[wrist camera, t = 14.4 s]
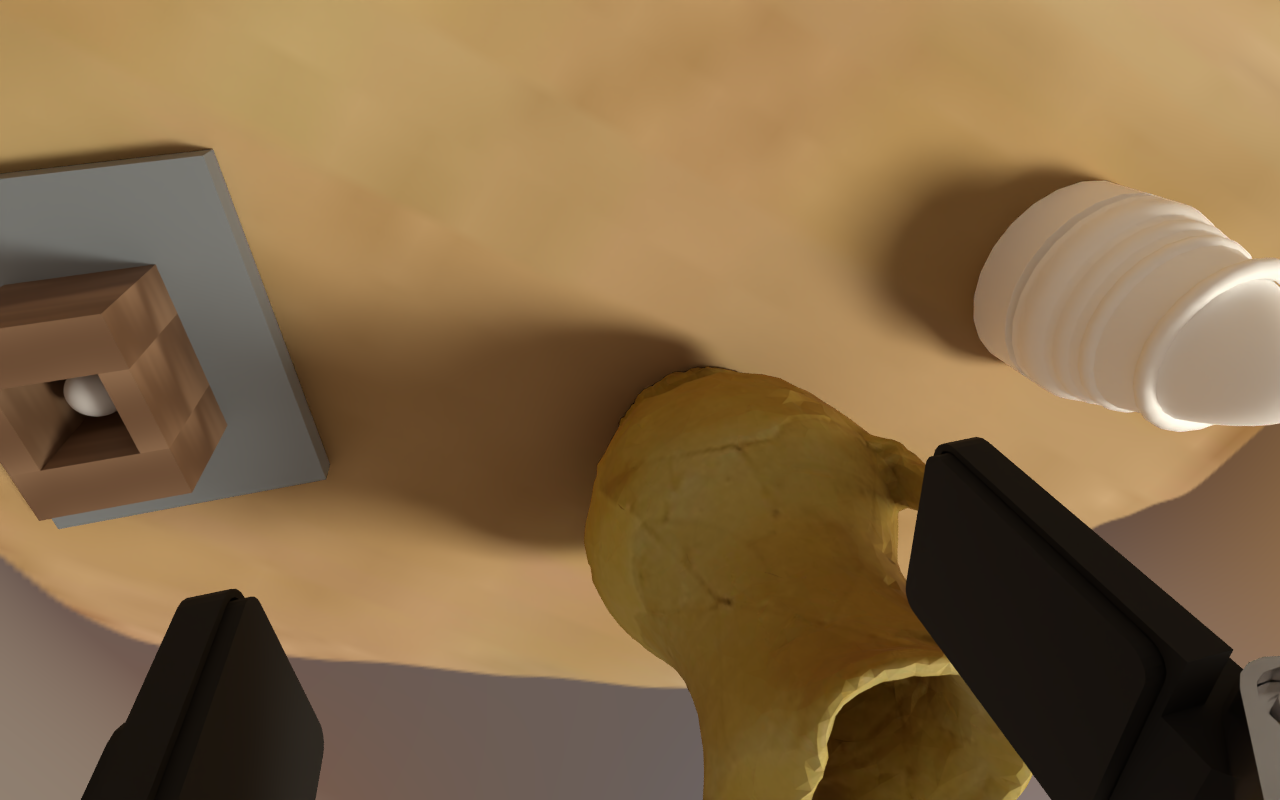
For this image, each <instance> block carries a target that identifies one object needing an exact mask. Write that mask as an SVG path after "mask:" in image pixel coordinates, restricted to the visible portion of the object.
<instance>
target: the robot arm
mask: <svg viewBox="0 0 1280 800" xmlns="http://www.w3.org/2000/svg"><path fill="white" fill-rule="evenodd" d="M906 596H907V600H908V603H909V605H910V607H911V609H912V611H913V612H914V614H915V615H916V616H917V618H918V619H919V620H920V622H921V623H922V625H923V626H924V627H925V629H926V630H927V631H928V633H929V634H930V635H931V637H932V638H933V639H934V641H935V642H936V644H937V645H938V646H939V648H940V649H941V650H942V652H943V653H944V654H945V656H946V657H947V658H948V660H949V661H950V663H951V664H952V665H953V667H954V668H955V669H956V671H957V672H958V673H959V675H960V676H961V678H962V679H963V680H964V682H965V683H966V684H967V686H968V687H969V688H970V690H971V691H972V692H973V694H974V695H975V697H976V698H977V699H978V701H979V702H980V703H981V705H982V706H983V707H984V709H985V710H986V711H987V713H988V714H989V716H990V717H991V718H992V720H993V721H994V722H995V724H996V725H997V726H998V728H999V729H1000V730H1001V732H1002V733H1003V735H1004V736H1005V737H1006V739H1007V740H1008V741H1009V743H1010V744H1011V745H1012V747H1013V748H1014V749H1015V751H1016V752H1017V754H1018V755H1019V756H1020V758H1021V759H1022V760H1023V762H1024V763H1025V764H1026V766H1027V767H1028V769H1029V770H1030V771H1031V773H1032V774H1033V775H1034V777H1035V778H1036V779H1037V781H1038V782H1039V783H1040V785H1041V786H1042V788H1043V789H1044V790H1045V792H1046V793H1047V794H1048V796H1049V797H1050V798H1051V800H1280V656H1272V657H1262V658H1259V659H1257V660H1254V661H1252V662H1249V663H1248V664H1247V665H1246V667H1245V668H1244V669H1242V668H1241V667H1240V666H1239V665H1237V664H1236V663H1235V662H1234V661H1233V660H1232V659H1230V658H1229V657H1230V655H1231V653H1232V651H1233V649H1232V648H1231V647H1230V646H1228V645H1227V644H1226V643H1225V642H1224V641H1222V640H1221V639H1220V638H1219V637H1218V636H1216V635H1215V634H1214V633H1213V632H1212V631H1211V630H1210V629H1208V628H1207V627H1206V626H1204V624H1202V623H1201V622H1200V621H1199V620H1198V619H1197V618H1195V617H1194V616H1193V615H1192V614H1191V613H1189V612H1188V611H1187V610H1186V609H1185V608H1184V607H1182V606H1181V605H1180V604H1179V603H1178V602H1176V601H1175V600H1174V599H1173V598H1172V597H1171V596H1169V595H1168V594H1167V593H1166V592H1165V591H1163V590H1162V589H1161V588H1160V587H1159V586H1158V585H1156V584H1155V583H1154V582H1153V581H1151V580H1150V579H1149V578H1148V577H1147V576H1146V575H1144V574H1143V573H1142V572H1141V571H1140V570H1139V569H1137V568H1136V567H1135V566H1134V565H1133V564H1132V563H1130V562H1129V561H1128V560H1127V559H1126V558H1125V557H1123V556H1122V555H1121V554H1120V553H1118V552H1117V551H1116V550H1115V549H1114V548H1113V547H1111V546H1110V545H1109V544H1108V543H1107V542H1106V541H1104V540H1103V539H1102V538H1101V537H1099V535H1097V534H1096V533H1095V532H1094V531H1093V530H1092V529H1090V528H1089V527H1088V526H1087V525H1086V524H1084V523H1083V522H1082V521H1081V520H1080V519H1079V518H1077V517H1076V516H1075V515H1074V514H1073V513H1071V512H1070V511H1069V510H1068V509H1067V508H1066V507H1064V506H1063V505H1062V504H1061V503H1060V502H1058V501H1057V500H1056V499H1055V498H1054V497H1053V496H1051V495H1050V494H1049V493H1048V492H1047V491H1045V490H1044V489H1043V488H1042V487H1041V486H1040V485H1038V484H1037V483H1036V482H1035V481H1034V480H1033V479H1031V478H1030V477H1029V476H1028V475H1027V474H1025V473H1024V472H1023V471H1022V470H1021V469H1020V468H1018V467H1017V466H1016V465H1015V464H1014V463H1012V462H1011V461H1010V460H1009V459H1008V458H1007V457H1005V456H1004V455H1003V454H1002V453H1001V452H999V451H998V450H997V449H996V448H995V447H994V446H992V445H991V444H990V443H989V442H988V441H986V440H984V439H983V438H979V437H974V438H969V439H964V440H959V441H954V442H949V443H945V444H941V445H939V446H938V447H937V449H936V450H935V453H934V456H931V457H929V458H928V460H927V462H926V465H925V471H924V477H923V483H922V489H921V495H920V501H919V507H918V514H917V520H916V526H915V532H914V538H913V544H912V550H911V556H910V562H909V568H908V575H907V581H906ZM323 750H324V740H323V733H322V728H321V725H320V723H319V721H318V719H317V717H316V715H315V713H314V711H313V709H312V706H311V705H310V702H309V701H308V698H307V696H306V694H305V692H304V690H303V688H302V686H301V684H300V682H299V680H298V678H297V676H296V674H295V672H294V671H293V668H292V666H291V664H290V662H289V660H288V658H287V656H286V654H285V652H284V650H283V648H282V646H281V644H280V642H279V640H278V638H277V636H276V634H275V632H274V630H273V628H272V626H271V624H270V622H269V620H268V618H267V616H266V614H265V612H264V610H263V608H262V606H261V604H260V602H259V601H258V599H257V598H255V597H248V598H244V596H243V595H242V593H241V592H240V591H238V590H237V589H229V590H224V591H219V592H214V593H210V594H205V595H200V596H195V597H190V598H186V599H185V600H183V601H182V602H181V603H180V605H179V606H178V608H177V610H176V612H175V614H174V617H173V619H172V621H171V623H170V625H169V628H168V630H167V632H166V634H165V636H164V639H163V641H162V643H161V645H160V647H159V650H158V652H157V654H156V656H155V659H154V661H153V663H152V665H151V667H150V670H149V672H148V674H147V676H146V678H145V681H144V683H143V685H142V687H141V690H140V692H139V694H138V696H137V698H136V701H135V703H134V705H133V708H132V709H131V712H130V714H129V716H128V718H127V720H126V722H125V723H123V724H122V725H121V726H120V727H119V728H118V729H117V730H116V731H115V732H114V733H113V735H112V736H111V738H110V740H109V742H108V743H107V745H106V747H105V749H104V751H103V753H102V755H101V757H100V760H99V762H98V764H97V766H96V768H95V771H94V773H93V775H92V777H91V779H90V781H89V783H88V785H87V788H86V790H85V792H84V794H83V796H82V798H81V800H315V798H316V792H317V787H318V781H319V775H320V770H321V764H322V758H323Z"/></svg>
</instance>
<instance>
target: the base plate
mask: <svg viewBox="0 0 1280 800" xmlns="http://www.w3.org/2000/svg"><path fill="white" fill-rule="evenodd" d="M155 264H156V266H157V269H158V271H159V273H160V275H161V278H162V280H163V282H164V284H165V287H166V289H167V291H168V293H169V296H170V298H171V300H172V302H173V305H174V307H175V309H176V311H177V313H178V316H179V318H180V320H181V322H182V325H183V327H184V329H185V331H186V334H187V336H188V338H189V340H190V343H191V345H192V347H193V349H194V351H195V354H196V356H197V358H198V360H199V363H200V365H201V367H202V369H203V372H204V374H205V376H206V378H207V381H208V383H209V385H210V387H211V389H212V392H213V394H214V396H215V398H216V401H217V403H218V405H219V407H220V410H221V412H222V414H223V416H224V419H225V421H226V423H227V427H226V429H225V431H224V433H223V435H222V437H221V439H220V441H219V443H218V444H217V446H216V448H215V450H214V452H213V454H212V456H211V458H210V460H209V462H208V463H207V465H206V467H205V469H204V471H203V473H202V475H201V477H200V479H199V480H198V482H197V484H196V486H195V488H194V490H193V492H192V493H188V494H183V495H177V496H172V497H166V498H161V499H156V500H150V501H145V502H139V503H134V504H128V505H123V506H117V507H112V508H106V509H101V510H95V511H90V512H84V513H79V514H74V515H68V516H63V517H57V518H52V520H53V522H54V523H55V525H56V526H57V528H58V529H62V528H67V527H72V526H78V525H83V524H89V523H94V522H99V521H105V520H110V519H116V518H121V517H126V516H132V515H137V514H142V513H148V512H153V511H159V510H164V509H169V508H175V507H180V506H186V505H191V504H196V503H202V502H207V501H213V500H218V499H223V498H229V497H234V496H239V495H245V494H250V493H256V492H261V491H266V490H272V489H277V488H283V487H288V486H293V485H299V484H304V483H310V482H315V481H320V480H326V478H327V474H328V471H329V467H330V463H329V460H328V458H327V455H326V452H325V450H324V447H323V444H322V442H321V439H320V436H319V433H318V431H317V428H316V425H315V423H314V420H313V417H312V415H311V412H310V409H309V407H308V404H307V401H306V398H305V396H304V393H303V390H302V388H301V385H300V382H299V380H298V377H297V374H296V372H295V369H294V366H293V363H292V361H291V358H290V355H289V353H288V350H287V347H286V345H285V342H284V339H283V337H282V334H281V331H280V328H279V326H278V323H277V320H276V318H275V315H274V312H273V310H272V307H271V304H270V301H269V299H268V296H267V293H266V291H265V288H264V285H263V283H262V280H261V277H260V275H259V272H258V269H257V266H256V264H255V261H254V258H253V256H252V253H251V250H250V248H249V245H248V242H247V240H246V237H245V234H244V231H243V229H242V226H241V223H240V221H239V218H238V215H237V213H236V210H235V207H234V205H233V202H232V199H231V196H230V194H229V191H228V188H227V186H226V183H225V180H224V178H223V175H222V172H221V170H220V167H219V164H218V161H217V159H216V156H215V153H214V151H213V149H210V150H201V151H192V152H183V153H175V154H166V155H157V156H149V157H140V158H131V159H123V160H114V161H105V162H97V163H88V164H79V165H70V166H62V167H53V168H44V169H36V170H27V171H18V172H10V173H1V174H0V287H2V286H3V285H8V284H15V283H22V282H30V281H37V280H44V279H52V278H59V277H66V276H74V275H81V274H88V273H96V272H103V271H110V270H118V269H125V268H133V267H140V266H147V265H155ZM64 396H65V399H66V401H67V403H68V404H69V405H70V406H71V407H72V408H73V409H74V410H76V411H77V412H79V413H81V414H84V415H87V416H95V417H99V416H106V415H109V414H112V413H114V412H116V411H117V409H116V407H115V405H114V404H113V402H112V400H111V398H110V396H109V394H108V392H107V391H106V389H105V387H104V385H103V383H102V381H101V379H100V377H99V376H98V374H95V375H89V376H82V377H76V378H70V379H66V381H65V384H64Z"/></svg>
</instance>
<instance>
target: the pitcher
mask: <svg viewBox="0 0 1280 800" xmlns="http://www.w3.org/2000/svg"><path fill="white" fill-rule="evenodd" d="M619 425H620V426H619V428H618V430H617V431H616V433H615V435H614V436H613V438H612V440H611V442H610V444H609V446H608V448H607V450H606V452H605V454H604V455H603V457H602V458H601V460H600V461H599V463H598V464H597V476H596V479H595V481H594V485H593V492H592V498H591V503H590V507H589V511H588V515H587V520H586V524H585V534H584V544H585V549H586V554H587V559H588V564H589V565H590V567H591V573H592V581H593V583H594V585H595V587H596V589H597V591H598V593H599V595H600V597H601V599H602V600H603V602H604V604H605V606H606V607H607V609H608V611H609V612H610V614H611V615H612V616H613V617H614V619H615V620H616V621H617V623H618V624H619V625H620V626H621V627H622V628H623V629H624V630H625V631H626V632H627V633H628V634H629V635H630V636H631V637H632V638H633V639H635V640H636V641H637V642H639V643H640V644H641V645H642V646H643V647H644V648H645V649H647V650H648V651H649V652H651V653H652V654H654V655H655V656H656V657H658V658H659V659H661V660H663V661H665V662H666V663H667V664H669V665H670V666H671V667H673V668H674V669H675V670H676V671H677V672H678V673H679V675H680V676H681V677H682V678H683V680H684V681H685V683H686V685H687V688H688V690H689V692H690V694H691V696H692V698H693V701H694V704H695V707H696V710H697V713H698V717H699V725H700V730H701V731H700V732H701V738H702V744H703V752H704V789H703V800H1016V799H1017V798H1018V797H1019V796H1020V794H1021V793H1022V792H1023V791H1024V789H1025V788H1026V787H1027V785H1028V783H1029V781H1030V779H1031V777H1032V775H1033V774H1032V773H1031V771H1030V770H1029V769H1028V767H1027V766H1026V764H1025V763H1024V762H1023V760H1022V759H1021V758H1020V756H1019V755H1018V754H1017V752H1016V751H1015V749H1014V748H1013V747H1012V745H1011V744H1010V743H1009V741H1008V740H1007V739H1006V737H1005V736H1004V735H1003V733H1002V732H1001V730H1000V729H999V728H998V726H997V725H996V724H995V722H994V721H993V720H992V718H991V717H990V716H989V714H988V713H987V711H986V710H985V709H984V707H983V706H982V705H981V703H980V702H979V701H978V699H977V698H976V697H975V695H974V694H973V692H972V691H971V690H970V688H969V687H968V686H967V684H966V683H965V682H964V680H963V679H962V678H961V676H960V675H959V673H958V672H957V671H956V669H955V668H954V667H953V665H952V664H951V663H950V661H949V660H948V658H947V657H946V656H945V654H944V653H943V652H942V650H941V649H940V648H939V646H938V645H937V644H936V642H935V641H934V639H933V638H932V637H931V635H930V634H929V633H928V631H927V630H926V629H925V627H924V626H923V625H922V623H921V622H920V620H919V619H918V618H917V616H916V615H915V614H914V612H913V611H912V609H911V607H910V605H909V603H908V600H907V596H906V579H905V578H904V576H903V575H902V573H901V571H900V568H899V565H898V562H897V548H898V513H899V511H901V510H903V509H906V508H910V509H914V510H918V507H919V501H920V495H921V489H922V483H923V477H924V471H925V464H924V463H923V462H922V461H921V460H920V459H919V458H918V457H917V456H916V455H915V454H914V453H912V452H911V451H909V450H907V449H906V447H905V446H904V445H903V444H901V443H900V442H897V441H895V440H892V439H885V438H881V437H877V436H873V435H870V434H869V433H868V432H867V431H865V430H864V429H863V428H861V427H860V426H859V425H857V424H856V423H855V422H853V421H852V420H851V419H849V418H848V417H846V416H845V415H843V414H842V413H840V412H839V411H837V410H836V409H834V408H833V407H831V406H830V405H828V404H826V403H825V402H823V401H822V400H820V399H819V398H817V397H816V396H814V395H813V394H811V393H810V392H808V391H806V390H803V389H800V388H798V387H796V386H794V385H792V384H790V383H788V382H786V381H784V380H782V379H781V378H776V377H772V376H767V375H763V374H749V373H738V372H736V371H735V372H733V371H732V370H726V369H723V368H722V369H718V368H710V367H708V366H707V367H706V368H702V369H700V368H699V367H697V368H692V369H690V370H688V371H687V372H685V373H683V372H673V373H672V374H669V375H667V376H666V377H664V378H663V379H662V380H661V381H659V382H657V383H655V384H654V385H653V386H651V387H648V388H647V389H644V390H643V391H642V392H641V393H640V394H638V395H637V399H635V403H634V404H632V405H631V408H630V409H629V410H628V411H627V413H626V415H625V417H624V418H621V420H620V422H619Z"/></svg>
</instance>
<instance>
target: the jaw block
mask: <svg viewBox="0 0 1280 800" xmlns="http://www.w3.org/2000/svg"><path fill="white" fill-rule="evenodd" d="M95 374H98V376H99V377H100V379H101V381H102V383H103V385H104V387H105V389H106V391H107V392H108V394H109V396H110V398H111V400H112V402H113V404H114V405H115V407H116V409H117V411H116V412H114V413H112V414H109V415H106V416H99V417H95V416H87V415H84V414H81V413H79V412H77V411H76V410H74V409H73V408H72V407H71V406H70V405H69V404H68V403H67V401H66V399H65V396H64V384H65V381H66V379H70V378H76V377H82V376H89V375H95ZM226 427H227V423H226V421H225V419H224V416H223V414H222V412H221V410H220V407H219V405H218V403H217V401H216V398H215V396H214V394H213V392H212V389H211V387H210V385H209V383H208V381H207V378H206V376H205V374H204V372H203V369H202V367H201V365H200V363H199V360H198V358H197V356H196V354H195V351H194V349H193V347H192V345H191V343H190V340H189V338H188V336H187V334H186V331H185V329H184V327H183V325H182V322H181V320H180V318H179V316H178V313H177V311H176V309H175V307H174V305H173V302H172V300H171V298H170V296H169V293H168V291H167V289H166V287H165V284H164V282H163V280H162V278H161V275H160V273H159V271H158V269H157V266H156V264H155V265H147V266H140V267H133V268H125V269H118V270H110V271H103V272H96V273H88V274H81V275H74V276H66V277H59V278H52V279H44V280H37V281H30V282H22V283H15V284H8V285H3V286H2V287H0V463H1V464H2V466H3V467H4V469H5V470H6V472H7V473H8V475H9V476H10V478H11V479H12V481H13V482H14V484H15V485H16V487H17V488H18V490H19V491H20V493H21V494H22V496H23V497H24V499H25V500H26V502H27V503H28V505H29V506H30V508H31V509H32V511H33V512H34V514H35V515H36V517H37V518H38V520H39V521H41V520H46V519H52V518H57V517H63V516H68V515H74V514H79V513H84V512H90V511H95V510H101V509H106V508H112V507H117V506H123V505H128V504H134V503H139V502H145V501H150V500H156V499H161V498H166V497H172V496H177V495H183V494H188V493H192V492H193V490H194V488H195V486H196V484H197V482H198V480H199V479H200V477H201V475H202V473H203V471H204V469H205V467H206V465H207V463H208V462H209V460H210V458H211V456H212V454H213V452H214V450H215V448H216V446H217V444H218V443H219V441H220V439H221V437H222V435H223V433H224V431H225V429H226Z"/></svg>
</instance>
